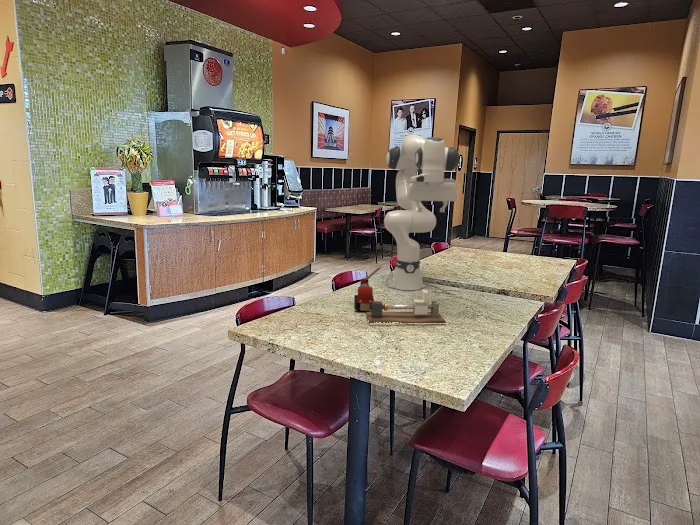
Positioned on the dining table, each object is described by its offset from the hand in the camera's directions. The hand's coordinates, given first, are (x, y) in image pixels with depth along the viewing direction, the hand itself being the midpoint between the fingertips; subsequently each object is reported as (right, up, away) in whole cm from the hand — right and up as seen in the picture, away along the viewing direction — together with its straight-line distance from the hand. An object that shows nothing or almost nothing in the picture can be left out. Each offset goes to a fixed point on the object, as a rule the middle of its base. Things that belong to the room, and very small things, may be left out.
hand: (430, 212), depth 190 cm
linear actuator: (-11, -44, -6) cm, 46 cm away
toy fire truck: (-26, -41, +10) cm, 49 cm away
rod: (-12, -42, -6) cm, 44 cm away
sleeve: (-5, -41, -6) cm, 42 cm away
